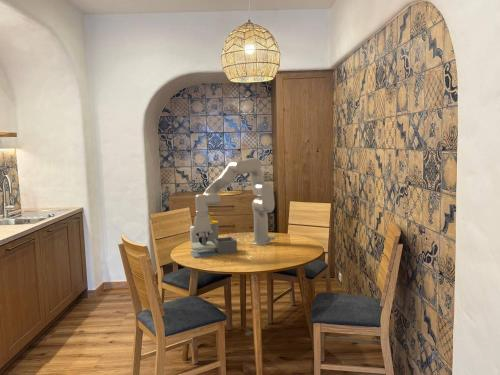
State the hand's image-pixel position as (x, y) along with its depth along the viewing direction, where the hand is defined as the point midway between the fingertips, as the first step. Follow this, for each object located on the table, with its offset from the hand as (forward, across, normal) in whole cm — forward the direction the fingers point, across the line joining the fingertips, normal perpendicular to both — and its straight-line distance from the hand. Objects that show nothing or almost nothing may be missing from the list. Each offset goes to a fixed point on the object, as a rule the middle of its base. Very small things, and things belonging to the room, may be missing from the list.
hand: (203, 242), depth 264 cm
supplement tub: (+8, 0, -18) cm, 20 cm away
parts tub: (+7, -14, 0) cm, 16 cm away
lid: (+2, 0, 0) cm, 2 cm away
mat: (+7, 0, 0) cm, 7 cm away
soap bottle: (+7, -11, -30) cm, 33 cm away
